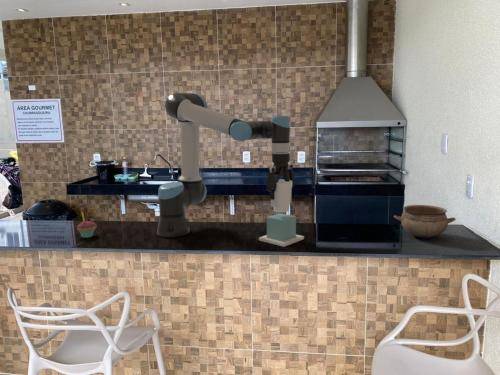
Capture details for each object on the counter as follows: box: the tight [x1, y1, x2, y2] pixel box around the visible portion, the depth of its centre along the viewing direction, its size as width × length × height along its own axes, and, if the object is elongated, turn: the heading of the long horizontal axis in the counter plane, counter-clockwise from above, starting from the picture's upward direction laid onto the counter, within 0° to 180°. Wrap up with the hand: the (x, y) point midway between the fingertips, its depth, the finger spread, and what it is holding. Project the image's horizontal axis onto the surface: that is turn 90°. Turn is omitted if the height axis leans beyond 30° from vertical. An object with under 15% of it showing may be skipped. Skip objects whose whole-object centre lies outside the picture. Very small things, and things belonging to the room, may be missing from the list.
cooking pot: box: [393, 204, 457, 240], centre depth 176 cm, size 25×19×12 cm
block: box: [266, 212, 297, 241], centre depth 176 cm, size 9×9×9 cm
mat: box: [258, 234, 305, 248], centre depth 177 cm, size 14×14×1 cm
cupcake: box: [76, 212, 98, 239], centre depth 187 cm, size 9×8×12 cm
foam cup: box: [273, 178, 293, 213], centre depth 173 cm, size 10×9×13 cm
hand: (281, 204), depth 174 cm, fingers closed on foam cup, 9 cm apart
